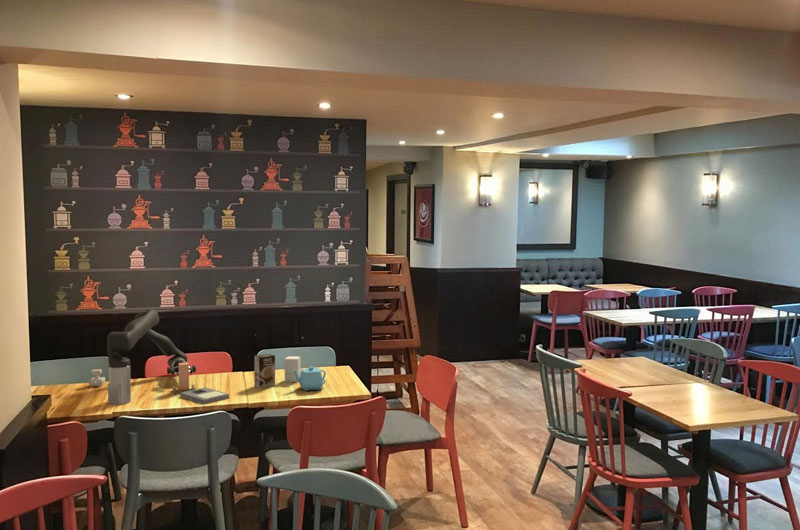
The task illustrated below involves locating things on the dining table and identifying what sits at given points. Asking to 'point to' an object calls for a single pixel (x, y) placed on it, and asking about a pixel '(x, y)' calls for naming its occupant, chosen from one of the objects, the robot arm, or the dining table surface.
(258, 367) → the coffee box
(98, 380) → the stamp
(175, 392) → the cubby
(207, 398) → the board
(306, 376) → the teapot
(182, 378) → the terracotta block
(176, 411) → the dining table surface
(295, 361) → the supplement box
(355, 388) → the dining table surface
